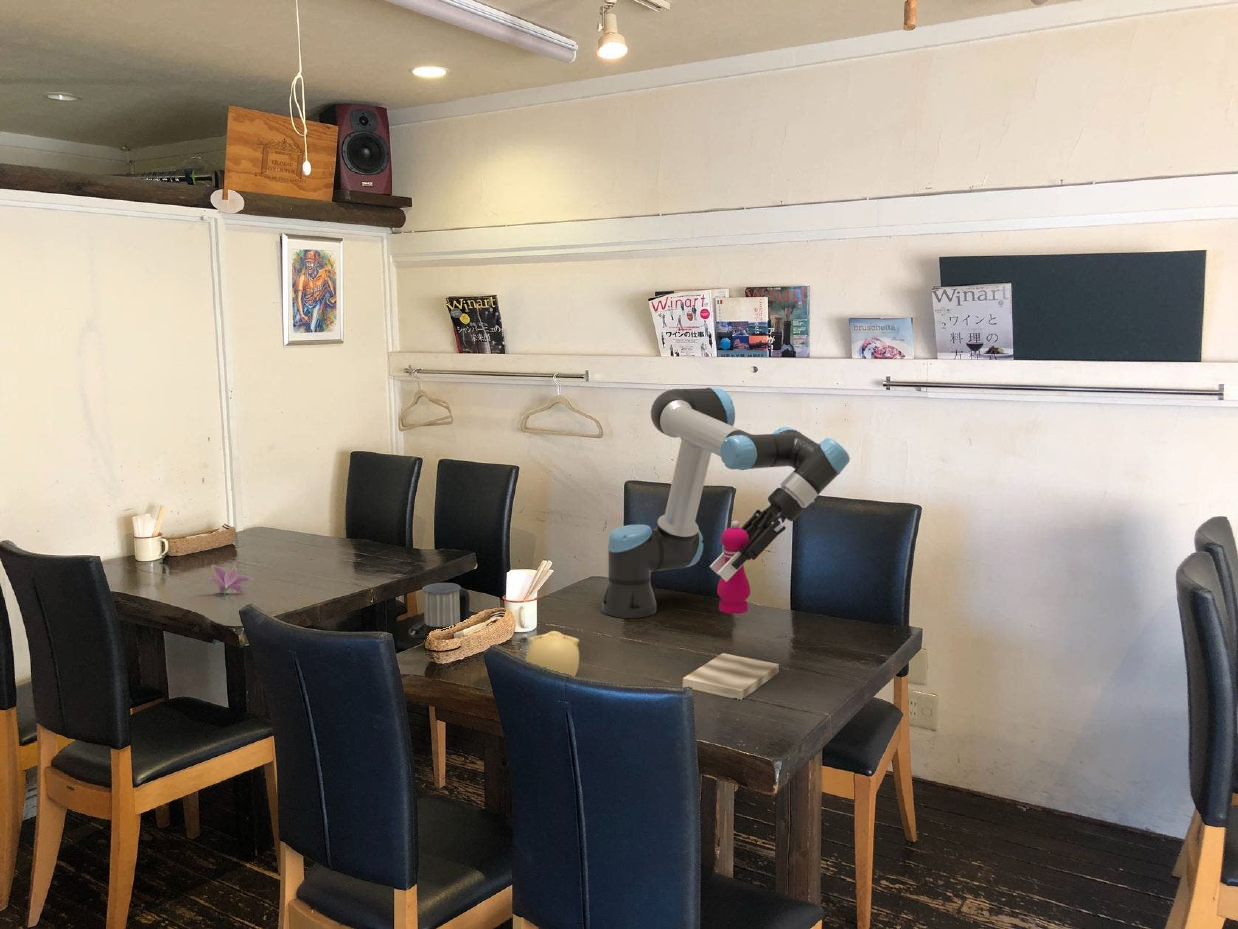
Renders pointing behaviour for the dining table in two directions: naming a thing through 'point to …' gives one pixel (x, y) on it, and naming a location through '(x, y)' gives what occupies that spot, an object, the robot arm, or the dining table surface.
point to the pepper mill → (738, 584)
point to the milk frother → (441, 608)
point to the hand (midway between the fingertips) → (718, 574)
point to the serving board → (731, 676)
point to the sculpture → (554, 652)
